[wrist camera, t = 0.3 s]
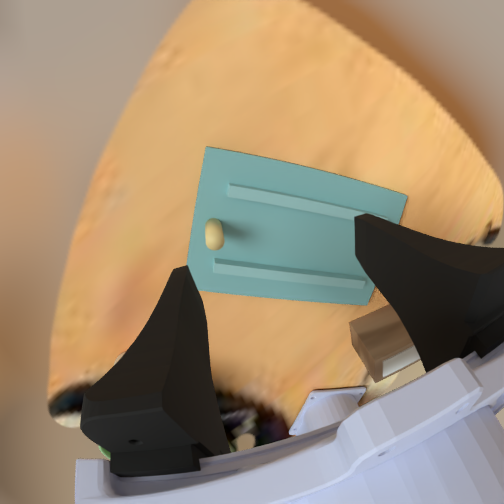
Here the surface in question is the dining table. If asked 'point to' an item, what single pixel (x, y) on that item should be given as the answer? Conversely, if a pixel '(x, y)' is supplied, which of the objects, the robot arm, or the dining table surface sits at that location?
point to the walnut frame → (383, 343)
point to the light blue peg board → (282, 229)
